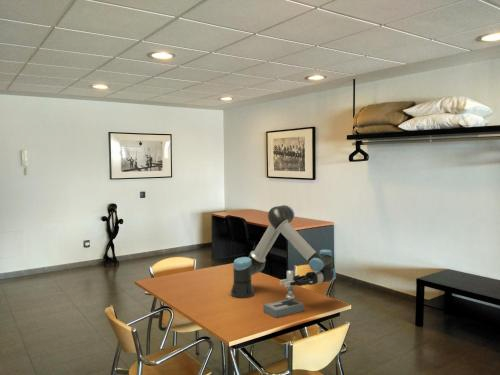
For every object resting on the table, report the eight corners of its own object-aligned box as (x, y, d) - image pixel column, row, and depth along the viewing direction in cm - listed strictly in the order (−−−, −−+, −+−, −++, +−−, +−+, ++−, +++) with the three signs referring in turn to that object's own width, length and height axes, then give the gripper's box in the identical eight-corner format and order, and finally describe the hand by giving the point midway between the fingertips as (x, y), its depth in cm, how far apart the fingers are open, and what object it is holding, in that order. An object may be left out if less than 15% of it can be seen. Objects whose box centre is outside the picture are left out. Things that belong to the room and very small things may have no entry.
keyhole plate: (291, 305, 239) (291, 298, 239) (304, 310, 229) (304, 304, 228) (263, 311, 228) (263, 304, 228) (275, 317, 218) (275, 310, 218)
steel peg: (286, 297, 233) (285, 270, 233) (294, 297, 232) (294, 270, 232) (285, 299, 228) (285, 272, 228) (294, 300, 228) (294, 272, 227)
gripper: (323, 287, 232) (291, 294, 220) (304, 280, 247) (273, 286, 234) (323, 274, 232) (291, 280, 220) (304, 268, 247) (273, 274, 234)
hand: (282, 283), depth 227 cm, fingers closed on steel peg, 4 cm apart
